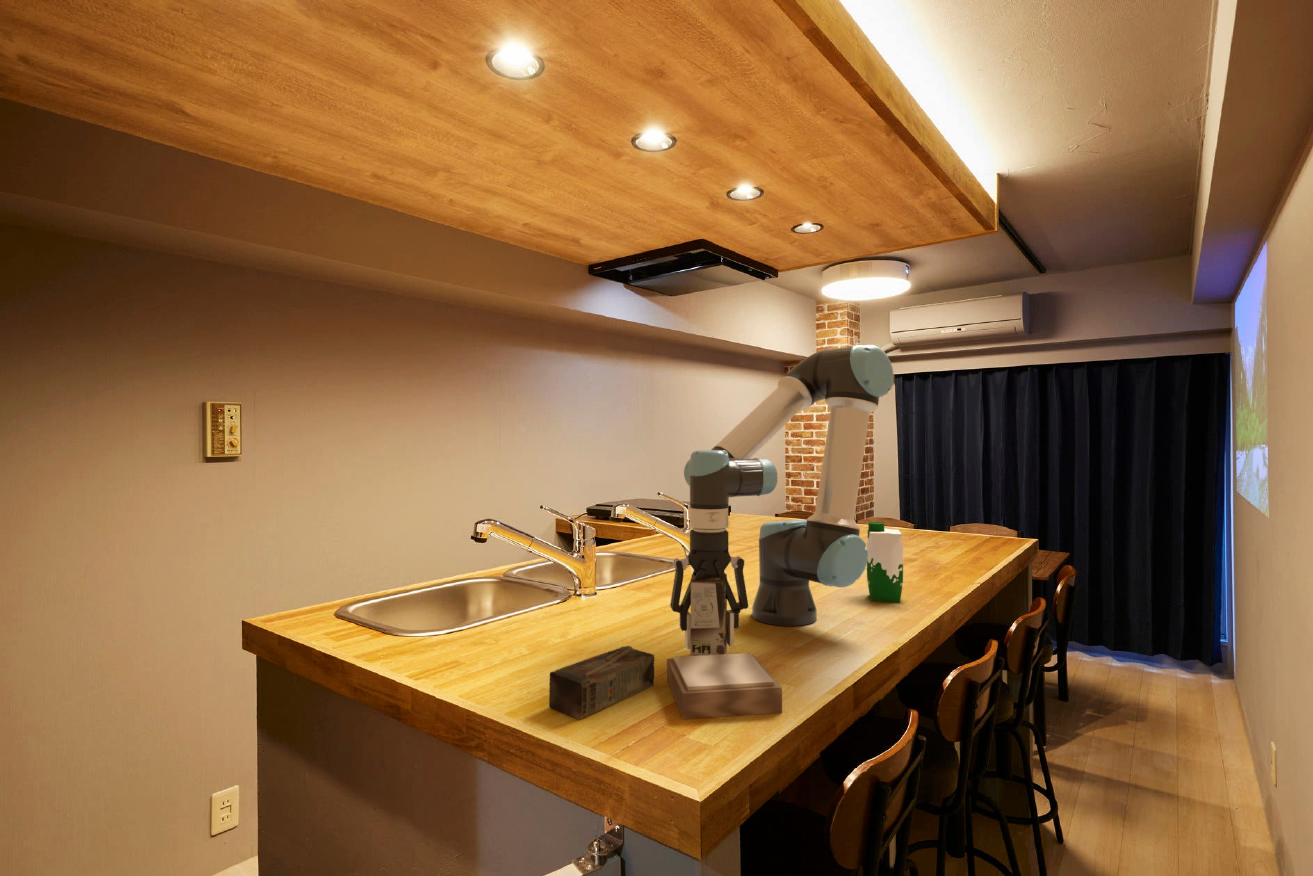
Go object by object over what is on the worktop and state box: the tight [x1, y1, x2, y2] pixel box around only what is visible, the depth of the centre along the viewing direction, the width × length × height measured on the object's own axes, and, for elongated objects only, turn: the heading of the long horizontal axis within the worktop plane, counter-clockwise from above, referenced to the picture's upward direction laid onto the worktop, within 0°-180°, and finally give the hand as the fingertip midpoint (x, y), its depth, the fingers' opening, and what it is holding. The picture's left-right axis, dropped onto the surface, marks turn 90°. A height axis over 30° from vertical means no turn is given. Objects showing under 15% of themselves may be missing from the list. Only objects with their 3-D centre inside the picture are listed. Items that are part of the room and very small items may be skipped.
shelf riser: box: [666, 652, 783, 720], centre depth 114 cm, size 16×16×5 cm
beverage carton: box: [548, 645, 655, 721], centre depth 114 cm, size 8×19×6 cm, turn 141°
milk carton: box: [866, 521, 904, 603], centre depth 179 cm, size 9×9×20 cm
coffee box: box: [690, 573, 728, 656], centre depth 132 cm, size 9×6×16 cm
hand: (709, 645), depth 132 cm, fingers closed on coffee box, 8 cm apart
